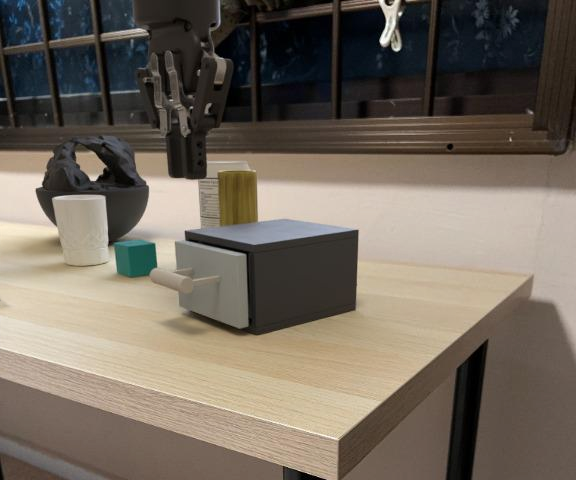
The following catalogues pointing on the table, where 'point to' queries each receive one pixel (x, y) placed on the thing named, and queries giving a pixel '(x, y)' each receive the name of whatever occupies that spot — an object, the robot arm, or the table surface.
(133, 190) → the bowl of black rocks
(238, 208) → the vase
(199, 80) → the robot arm
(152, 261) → the teal cube
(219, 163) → the supplement can
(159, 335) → the table surface
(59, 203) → the white cup
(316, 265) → the grey drawer cabinet
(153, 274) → the pulled-out drawer
